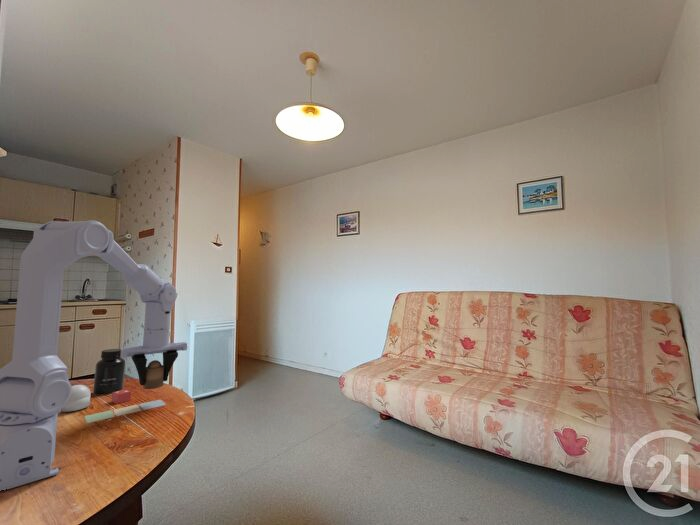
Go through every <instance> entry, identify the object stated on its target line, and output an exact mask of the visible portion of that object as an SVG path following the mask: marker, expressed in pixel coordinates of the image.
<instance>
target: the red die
mask: <svg viewBox="0 0 700 525" xmlns="http://www.w3.org/2000/svg"><path fill="white" fill-rule="evenodd" d="M131 396H132V391H131V390H128V389H124V388H123V389H122V390H120V391H116V392H112V393H111V402H112V403H113V404H116V405H121V404H123V403H126V402H130V401H131Z"/></svg>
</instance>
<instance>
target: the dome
mask: <svg viewBox="0 0 700 525" xmlns="http://www.w3.org/2000/svg"><path fill="white" fill-rule="evenodd" d="M71 387H72V391H71V395H70V398H69V400H68V402H67V403H66V404H65V406H64V407H63V408H62V409H61V412H64V413H65V412H66V413H67V412H73V411H74V412H75V411H79V410H83V409H85V408H88V407H89V406H90V405H91V393H92V392H91V390H90V388H89V387H88V386H86V385H84V384H74V385H71Z"/></svg>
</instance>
